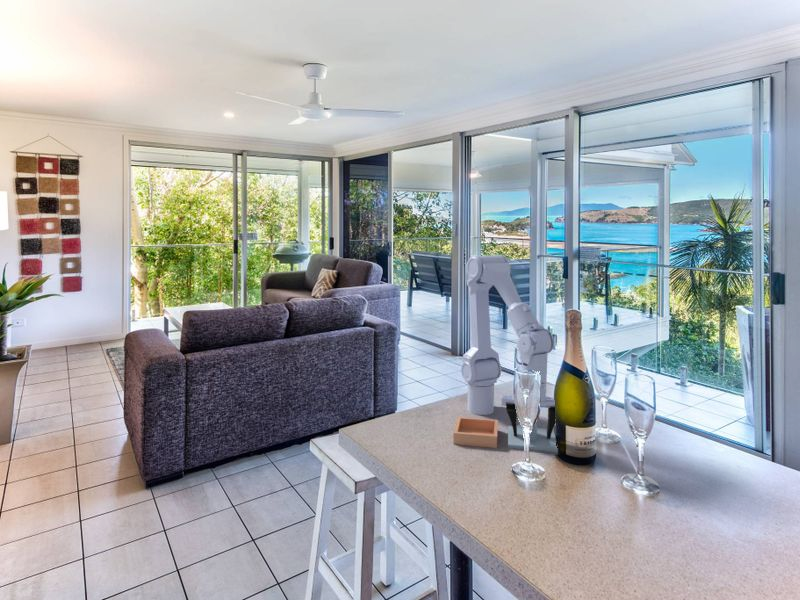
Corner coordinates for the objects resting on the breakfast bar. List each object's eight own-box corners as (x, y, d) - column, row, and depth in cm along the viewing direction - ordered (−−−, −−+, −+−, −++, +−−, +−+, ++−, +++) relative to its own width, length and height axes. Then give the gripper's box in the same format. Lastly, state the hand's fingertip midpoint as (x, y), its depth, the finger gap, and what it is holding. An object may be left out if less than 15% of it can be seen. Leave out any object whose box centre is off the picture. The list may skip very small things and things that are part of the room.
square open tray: (457, 429, 125) (457, 416, 125) (497, 433, 123) (498, 420, 123) (453, 447, 116) (453, 432, 115) (496, 451, 113) (497, 436, 113)
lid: (507, 428, 124) (508, 414, 123) (553, 432, 122) (554, 417, 121) (507, 447, 113) (508, 432, 113) (557, 452, 111) (558, 436, 110)
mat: (507, 430, 125) (508, 427, 125) (553, 433, 123) (553, 430, 123) (507, 453, 112) (507, 449, 112) (558, 457, 110) (558, 454, 110)
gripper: (501, 384, 113) (500, 439, 115) (568, 388, 110) (565, 445, 112) (502, 374, 120) (500, 427, 122) (564, 378, 117) (562, 432, 119)
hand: (531, 435), depth 117 cm, fingers open, 7 cm apart
